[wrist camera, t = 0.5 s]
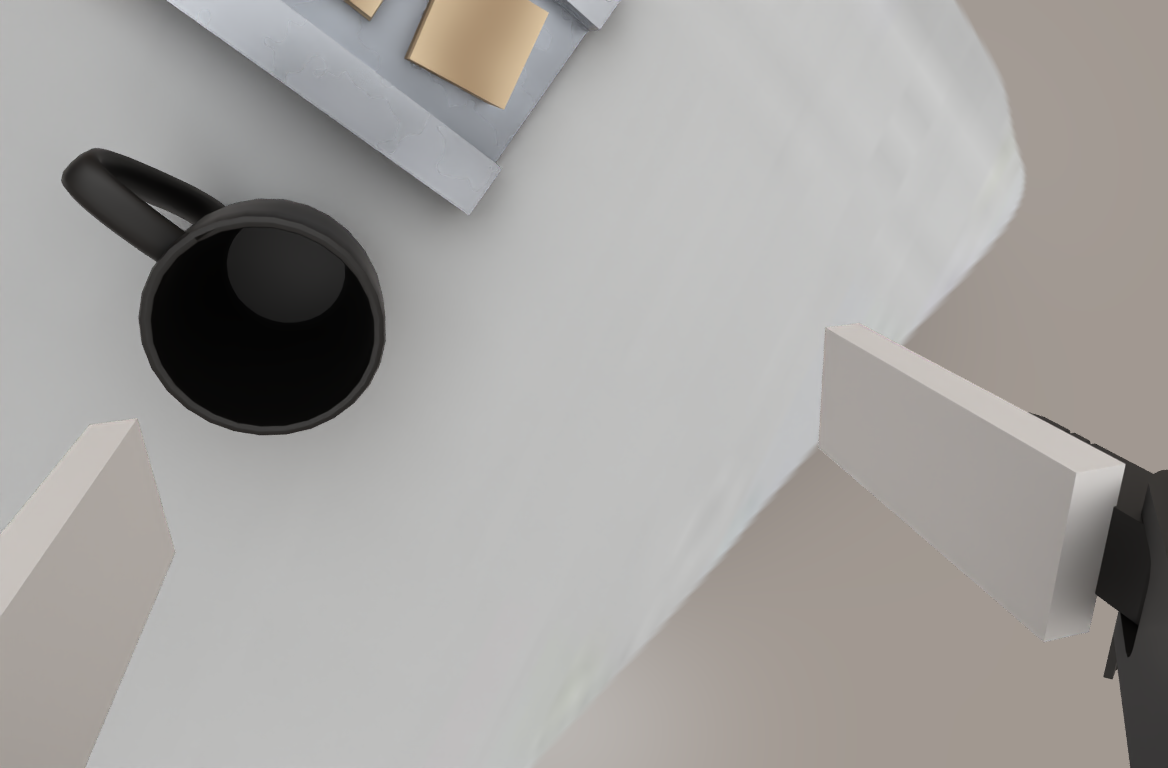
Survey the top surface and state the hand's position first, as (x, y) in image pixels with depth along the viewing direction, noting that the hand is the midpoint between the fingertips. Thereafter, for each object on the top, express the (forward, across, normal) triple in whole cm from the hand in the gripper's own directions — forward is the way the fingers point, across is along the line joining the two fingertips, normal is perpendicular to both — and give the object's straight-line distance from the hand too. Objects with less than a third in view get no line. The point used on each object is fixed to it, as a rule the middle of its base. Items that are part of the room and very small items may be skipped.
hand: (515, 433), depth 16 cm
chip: (+24, +2, +8) cm, 25 cm away
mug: (+25, -8, 0) cm, 26 cm away
